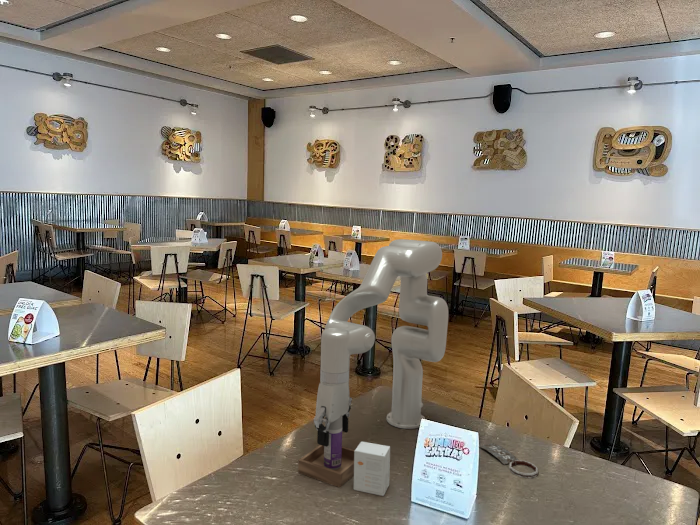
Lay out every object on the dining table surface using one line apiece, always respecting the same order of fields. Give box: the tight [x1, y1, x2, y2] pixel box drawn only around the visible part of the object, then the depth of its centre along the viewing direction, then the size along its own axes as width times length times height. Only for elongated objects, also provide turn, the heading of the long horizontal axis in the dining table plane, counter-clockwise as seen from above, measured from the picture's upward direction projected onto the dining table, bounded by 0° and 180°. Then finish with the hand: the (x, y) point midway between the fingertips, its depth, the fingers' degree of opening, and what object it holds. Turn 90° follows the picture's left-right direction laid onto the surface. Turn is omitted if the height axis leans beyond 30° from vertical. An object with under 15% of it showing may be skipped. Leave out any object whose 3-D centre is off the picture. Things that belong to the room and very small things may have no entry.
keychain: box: [479, 442, 539, 479], centre depth 147 cm, size 8×19×2 cm, turn 24°
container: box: [324, 415, 343, 470], centre depth 138 cm, size 5×5×15 cm
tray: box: [297, 444, 355, 488], centre depth 139 cm, size 13×13×4 cm
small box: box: [353, 441, 391, 497], centre depth 130 cm, size 8×6×10 cm
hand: (333, 437), depth 138 cm, fingers open, 9 cm apart
